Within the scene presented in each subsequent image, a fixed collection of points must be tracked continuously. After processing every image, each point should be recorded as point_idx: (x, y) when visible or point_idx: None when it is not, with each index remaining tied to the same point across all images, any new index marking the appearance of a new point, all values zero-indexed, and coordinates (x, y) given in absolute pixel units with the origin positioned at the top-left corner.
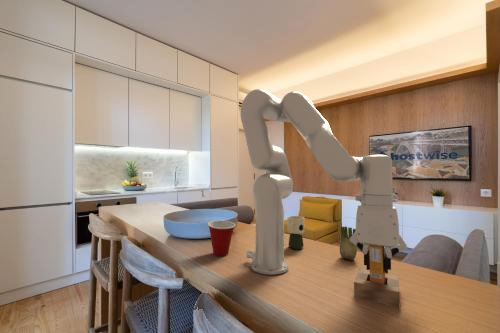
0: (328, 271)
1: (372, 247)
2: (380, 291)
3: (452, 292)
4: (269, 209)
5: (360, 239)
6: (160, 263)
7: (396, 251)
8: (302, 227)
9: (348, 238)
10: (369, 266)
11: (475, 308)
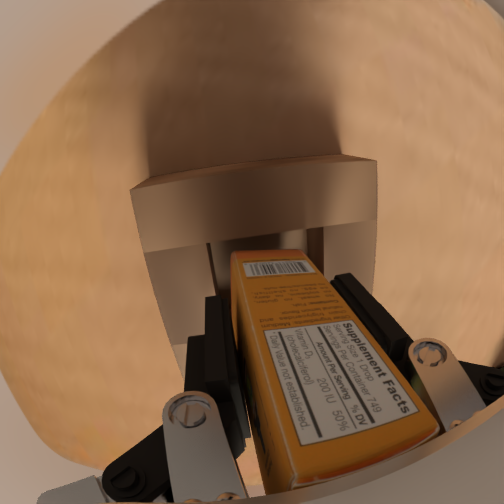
0: (440, 312)
1: (399, 425)
2: (230, 170)
3: (74, 404)
4: None
5: None
6: None
7: (120, 470)
8: None
9: None
10: (339, 294)
11: (10, 343)
